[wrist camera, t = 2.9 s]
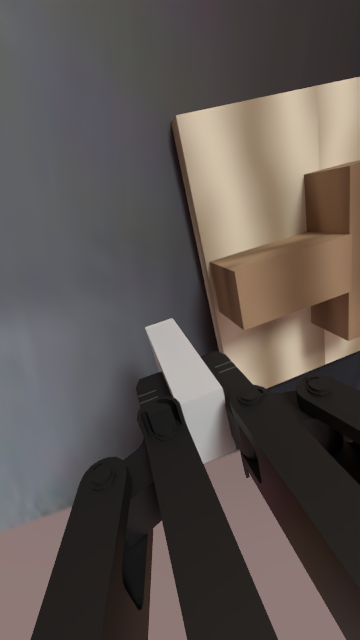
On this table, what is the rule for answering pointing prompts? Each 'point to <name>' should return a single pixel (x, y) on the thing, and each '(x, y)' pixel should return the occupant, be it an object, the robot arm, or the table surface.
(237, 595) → the robot arm
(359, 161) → the t block
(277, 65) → the table surface
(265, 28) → the table surface
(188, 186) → the board
